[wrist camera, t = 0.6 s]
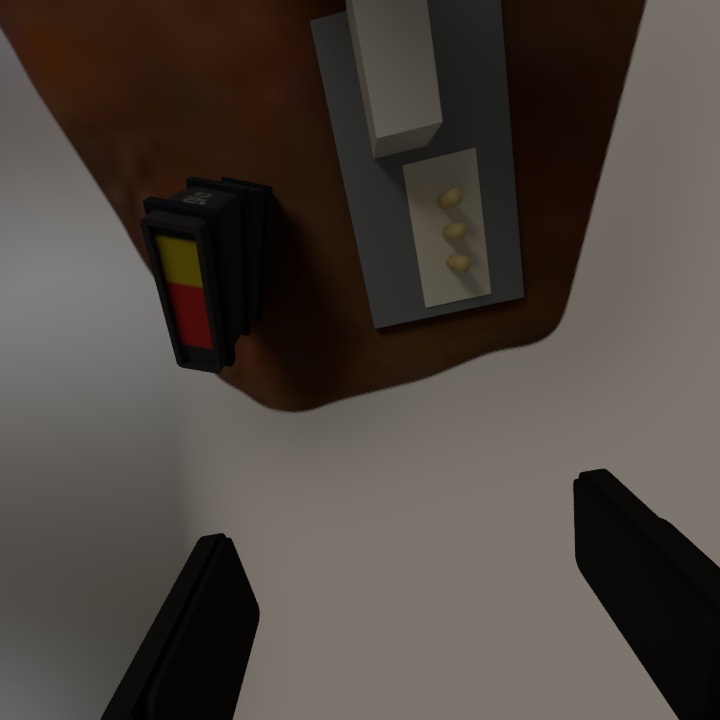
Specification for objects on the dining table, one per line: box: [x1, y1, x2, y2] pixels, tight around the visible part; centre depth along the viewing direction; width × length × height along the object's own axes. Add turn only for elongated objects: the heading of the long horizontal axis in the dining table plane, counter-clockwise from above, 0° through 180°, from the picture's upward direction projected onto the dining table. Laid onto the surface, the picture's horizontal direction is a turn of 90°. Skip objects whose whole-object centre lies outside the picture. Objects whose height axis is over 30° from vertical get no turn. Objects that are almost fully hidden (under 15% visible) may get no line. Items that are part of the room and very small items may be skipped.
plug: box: [346, 0, 443, 159], centre depth 24 cm, size 16×4×6 cm, turn 12°
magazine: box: [140, 177, 274, 373], centre depth 28 cm, size 4×13×15 cm, turn 170°
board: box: [310, 0, 524, 329], centre depth 29 cm, size 24×14×5 cm, turn 12°
